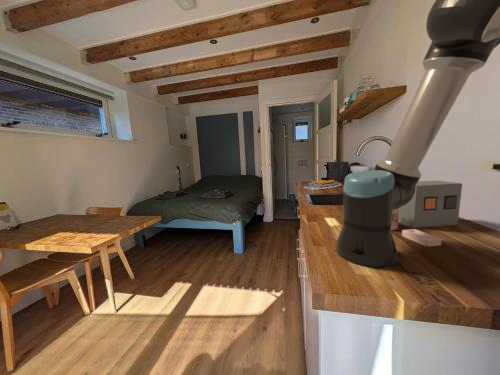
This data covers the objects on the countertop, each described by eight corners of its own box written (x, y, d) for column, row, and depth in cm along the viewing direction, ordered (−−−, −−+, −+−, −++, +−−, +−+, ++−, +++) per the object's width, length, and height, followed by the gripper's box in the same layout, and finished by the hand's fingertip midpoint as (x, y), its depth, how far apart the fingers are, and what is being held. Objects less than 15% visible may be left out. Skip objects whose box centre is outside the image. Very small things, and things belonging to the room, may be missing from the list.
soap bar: (426, 247, 60) (427, 240, 60) (400, 236, 69) (401, 229, 69) (442, 246, 61) (443, 238, 60) (414, 234, 70) (415, 228, 69)
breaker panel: (414, 228, 75) (417, 186, 72) (392, 219, 85) (395, 182, 83) (458, 225, 76) (463, 183, 74) (432, 217, 86) (435, 180, 84)
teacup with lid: (393, 232, 71) (395, 200, 70) (366, 226, 78) (367, 197, 77) (404, 224, 79) (406, 195, 77) (378, 219, 86) (379, 193, 84)
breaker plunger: (424, 209, 74) (425, 198, 74) (402, 203, 84) (403, 193, 84) (434, 208, 75) (435, 198, 74) (411, 202, 85) (412, 193, 84)
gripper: (611, 195, 35) (460, 179, 58) (675, 191, 36) (501, 177, 59) (623, 151, 34) (464, 153, 57) (688, 149, 34) (505, 151, 58)
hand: (483, 165), depth 58 cm, fingers closed
